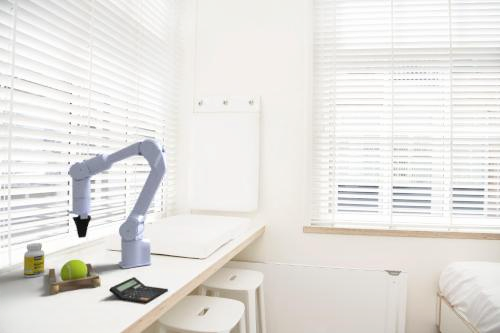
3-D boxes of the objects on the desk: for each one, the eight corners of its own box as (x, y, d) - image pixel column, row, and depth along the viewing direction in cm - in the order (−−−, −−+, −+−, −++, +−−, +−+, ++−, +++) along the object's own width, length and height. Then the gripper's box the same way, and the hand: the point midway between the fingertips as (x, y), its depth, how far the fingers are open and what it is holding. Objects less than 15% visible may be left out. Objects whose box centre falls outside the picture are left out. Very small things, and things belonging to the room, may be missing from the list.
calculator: (146, 305, 86) (146, 293, 86) (109, 299, 90) (109, 287, 90) (167, 292, 94) (167, 281, 94) (133, 287, 98) (133, 276, 98)
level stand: (90, 267, 117) (90, 260, 117) (100, 286, 98) (100, 277, 98) (48, 274, 110) (48, 266, 110) (50, 295, 92) (50, 286, 92)
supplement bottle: (34, 278, 106) (34, 246, 106) (19, 277, 107) (19, 246, 107) (48, 273, 111) (48, 242, 111) (34, 272, 112) (33, 242, 112)
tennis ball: (79, 278, 106) (79, 255, 106) (92, 282, 102) (92, 259, 102) (55, 285, 100) (55, 261, 100) (68, 290, 96) (68, 264, 96)
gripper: (67, 196, 123) (67, 235, 123) (70, 200, 111) (70, 242, 111) (88, 195, 127) (89, 232, 127) (94, 198, 115) (94, 239, 115)
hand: (82, 237), depth 119 cm, fingers closed
